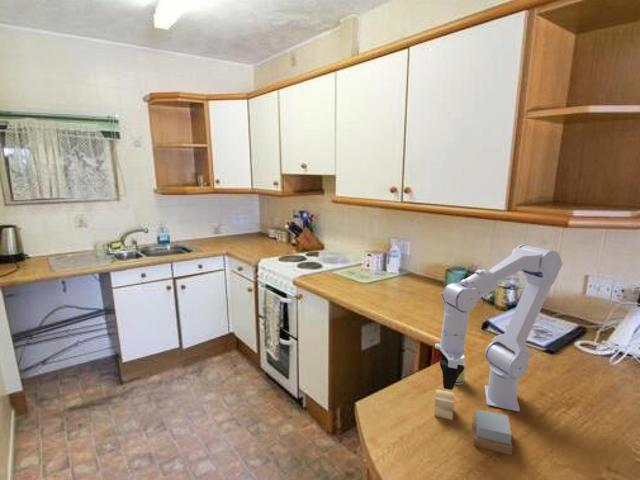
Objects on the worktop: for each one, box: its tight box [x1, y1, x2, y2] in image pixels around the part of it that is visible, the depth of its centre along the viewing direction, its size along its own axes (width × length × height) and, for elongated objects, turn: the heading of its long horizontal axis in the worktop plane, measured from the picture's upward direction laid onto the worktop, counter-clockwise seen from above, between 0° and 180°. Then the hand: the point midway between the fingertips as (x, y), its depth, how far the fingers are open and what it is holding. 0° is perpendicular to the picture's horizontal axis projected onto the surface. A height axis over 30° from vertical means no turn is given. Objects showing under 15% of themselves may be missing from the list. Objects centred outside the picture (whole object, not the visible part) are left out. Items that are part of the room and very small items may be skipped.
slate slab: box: [475, 409, 513, 445], centre depth 86 cm, size 7×7×2 cm
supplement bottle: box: [455, 354, 466, 385], centre depth 110 cm, size 5×5×8 cm
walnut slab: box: [471, 416, 514, 456], centre depth 87 cm, size 8×8×2 cm
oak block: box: [433, 388, 455, 421], centre depth 96 cm, size 4×4×5 cm
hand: (447, 380), depth 94 cm, fingers open, 7 cm apart
